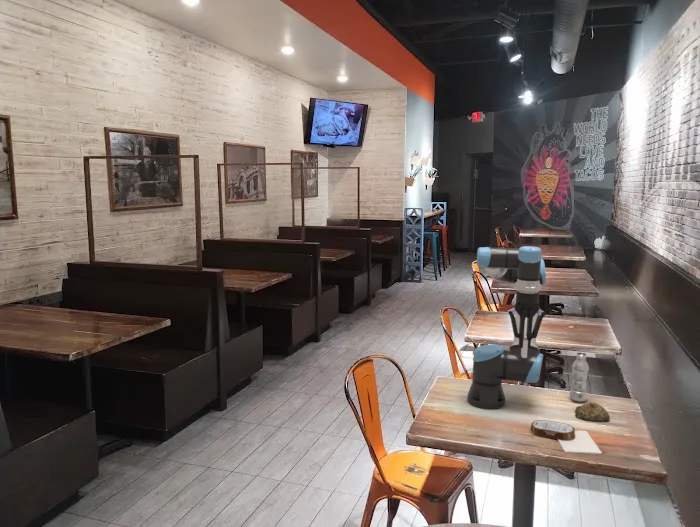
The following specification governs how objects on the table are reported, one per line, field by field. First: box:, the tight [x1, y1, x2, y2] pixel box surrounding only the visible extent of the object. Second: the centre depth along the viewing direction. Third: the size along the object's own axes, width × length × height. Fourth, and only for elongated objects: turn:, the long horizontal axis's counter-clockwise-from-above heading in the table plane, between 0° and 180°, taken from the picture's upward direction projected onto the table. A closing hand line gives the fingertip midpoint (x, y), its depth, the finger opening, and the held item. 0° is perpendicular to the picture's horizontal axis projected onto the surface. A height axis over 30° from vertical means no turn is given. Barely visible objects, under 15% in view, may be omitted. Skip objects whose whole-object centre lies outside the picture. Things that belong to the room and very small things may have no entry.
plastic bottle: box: [569, 352, 590, 403], centre depth 228 cm, size 6×7×20 cm
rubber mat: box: [556, 430, 603, 455], centre depth 194 cm, size 12×16×1 cm
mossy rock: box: [574, 402, 611, 423], centre depth 216 cm, size 13×12×5 cm
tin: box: [530, 419, 576, 440], centre depth 200 cm, size 15×3×8 cm
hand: (523, 356), depth 197 cm, fingers closed
